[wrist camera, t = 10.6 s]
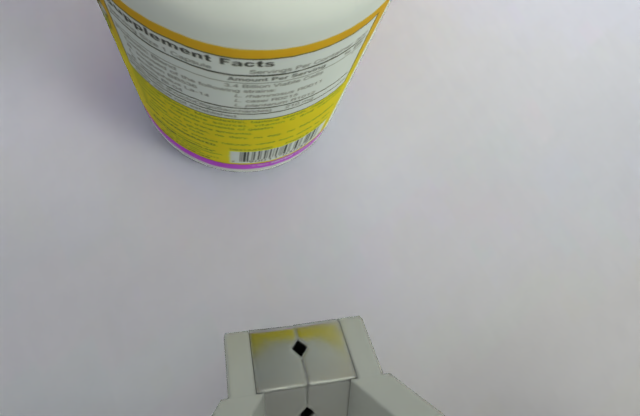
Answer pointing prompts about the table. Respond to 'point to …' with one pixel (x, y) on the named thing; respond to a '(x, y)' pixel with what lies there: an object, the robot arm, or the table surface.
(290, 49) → the supplement bottle
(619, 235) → the table surface
